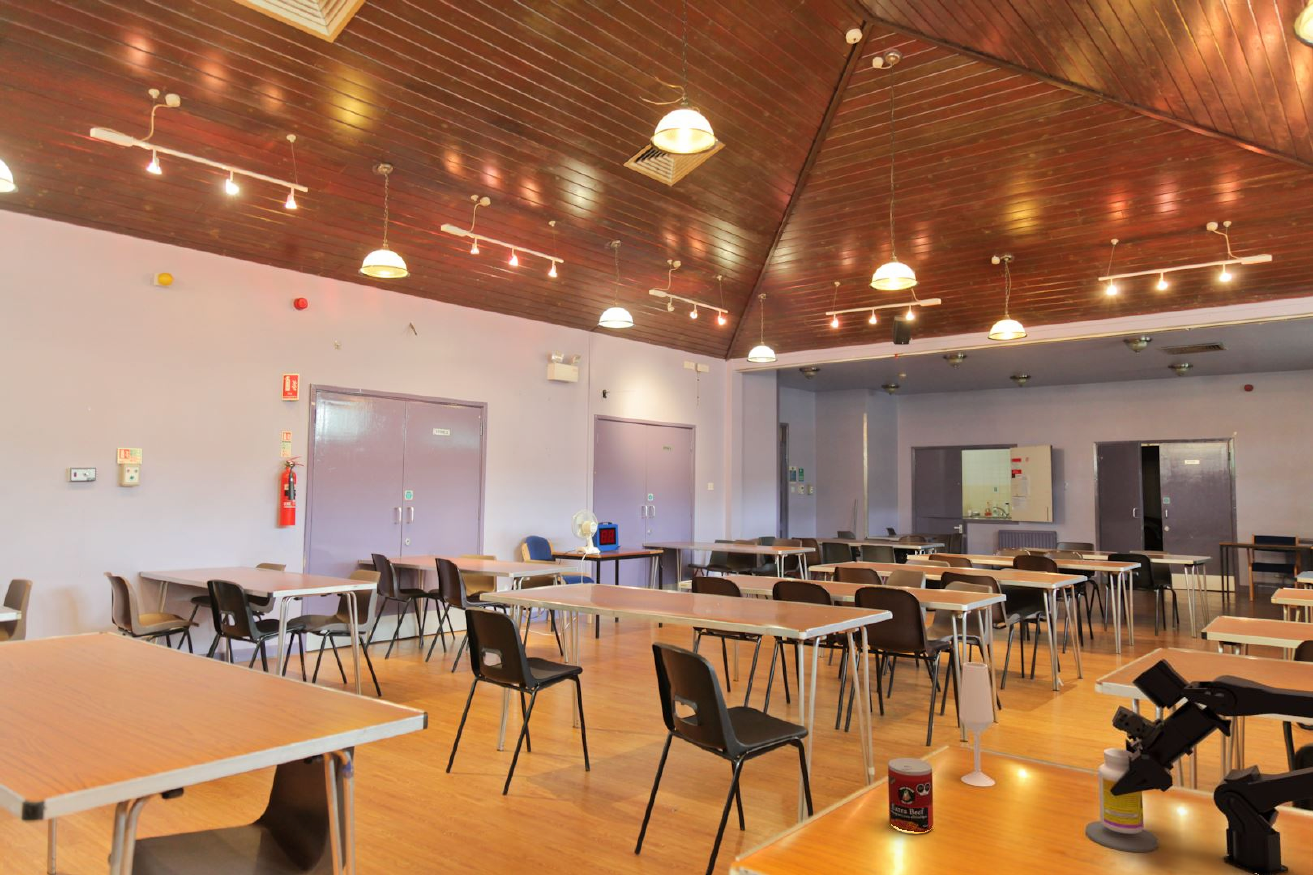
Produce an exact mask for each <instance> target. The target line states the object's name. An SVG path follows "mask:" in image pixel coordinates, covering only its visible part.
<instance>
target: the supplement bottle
mask: <svg viewBox="0 0 1313 875" xmlns="http://www.w3.org/2000/svg"><path fill="white" fill-rule="evenodd" d="M1132 755H1133V753H1131V752H1129V751H1126V749H1122V748H1106V749H1104V750H1103V758H1104V760H1105V762H1104V763H1102V764H1101V765H1100V766H1099V767H1098V770H1097V771H1098V773H1097V774H1098V791H1099V795H1098V796H1099V797H1098V799H1099V821H1101V823H1102V824H1103V825H1104V826H1105V827H1106V828H1108V829H1110V830H1113V831H1116V832H1120V833H1127V834H1135V833H1139V832H1141V831H1142V830H1143V829H1144V809H1143V808H1144V806H1143V791H1140V792H1134V793H1129V794H1124V795H1118V796H1114V795H1113V794H1112V793H1111V792H1110V789H1111V788H1112V787H1113V786H1114V784H1115V783H1116V782H1117V781H1118V780H1119V779H1120V777H1121V776H1122V775H1123V774H1124V773H1125V772H1126V770H1127V769H1128V768H1129V762H1128V756H1130V757H1131V756H1132Z"/></svg>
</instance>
